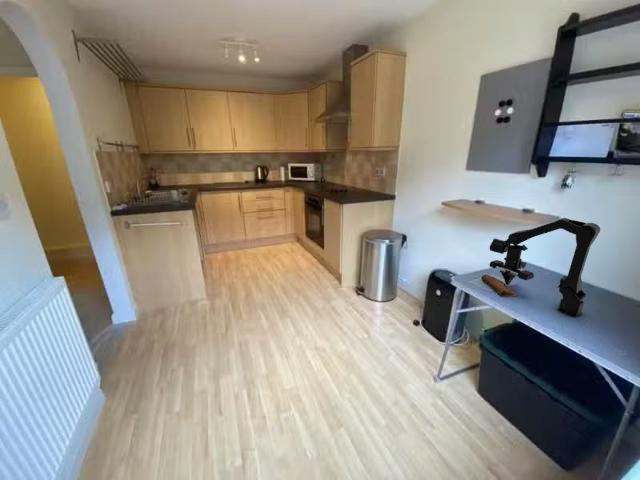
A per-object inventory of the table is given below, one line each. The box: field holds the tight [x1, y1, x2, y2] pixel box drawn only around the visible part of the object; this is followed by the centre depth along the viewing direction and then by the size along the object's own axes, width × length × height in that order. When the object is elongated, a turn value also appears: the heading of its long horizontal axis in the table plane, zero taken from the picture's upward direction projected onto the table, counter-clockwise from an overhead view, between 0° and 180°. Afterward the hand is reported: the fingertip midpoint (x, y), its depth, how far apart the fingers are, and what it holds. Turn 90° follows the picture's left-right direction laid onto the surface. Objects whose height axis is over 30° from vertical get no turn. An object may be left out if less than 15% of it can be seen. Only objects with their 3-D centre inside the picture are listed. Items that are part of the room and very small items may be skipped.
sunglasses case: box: [480, 274, 517, 298], centre depth 140 cm, size 18×7×7 cm
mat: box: [467, 273, 516, 293], centre depth 147 cm, size 13×20×1 cm, turn 113°
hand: (507, 284), depth 139 cm, fingers closed
